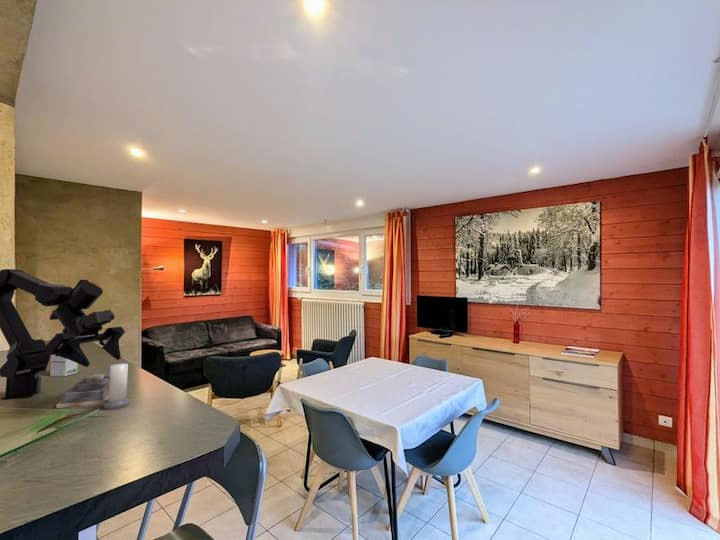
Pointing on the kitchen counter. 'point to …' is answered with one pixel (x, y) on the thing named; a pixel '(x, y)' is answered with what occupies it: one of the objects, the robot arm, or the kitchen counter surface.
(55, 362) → the syrup box
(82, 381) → the grey compartment tray
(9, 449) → the kitchen counter surface
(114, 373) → the white bulb
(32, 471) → the kitchen counter surface
